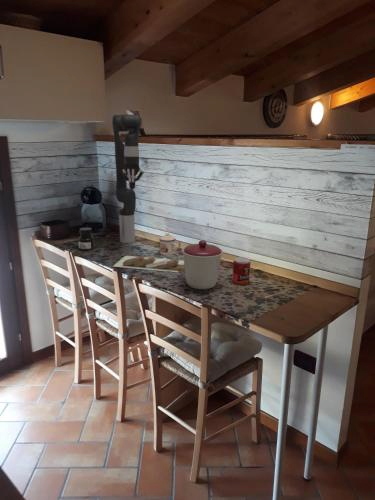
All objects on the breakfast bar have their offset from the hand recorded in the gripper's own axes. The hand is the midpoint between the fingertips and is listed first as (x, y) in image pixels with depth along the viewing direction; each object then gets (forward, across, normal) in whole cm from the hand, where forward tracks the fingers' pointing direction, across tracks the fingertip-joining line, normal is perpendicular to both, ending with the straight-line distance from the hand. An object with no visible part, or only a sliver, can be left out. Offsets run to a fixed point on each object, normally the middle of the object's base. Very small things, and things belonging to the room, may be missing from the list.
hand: (132, 189), depth 205 cm
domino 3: (+36, +13, -16) cm, 41 cm away
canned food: (+37, +61, -25) cm, 76 cm away
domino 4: (+36, +19, -16) cm, 44 cm away
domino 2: (+36, +7, -16) cm, 40 cm away
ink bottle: (+37, -31, +6) cm, 49 cm away
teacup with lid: (+37, +18, +9) cm, 42 cm away
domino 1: (+36, +1, -16) cm, 39 cm away
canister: (+37, +44, -34) cm, 67 cm away
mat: (+37, +13, -11) cm, 41 cm away
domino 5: (+36, +25, -16) cm, 47 cm away
